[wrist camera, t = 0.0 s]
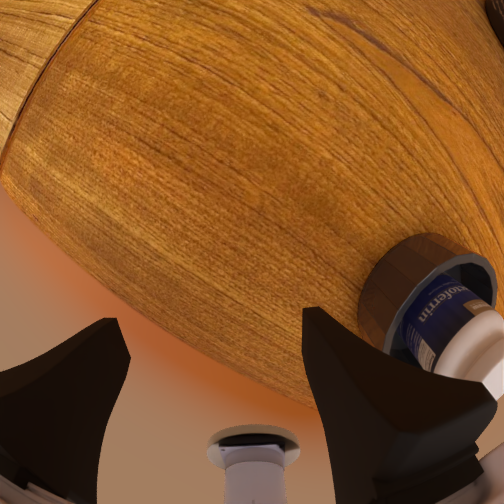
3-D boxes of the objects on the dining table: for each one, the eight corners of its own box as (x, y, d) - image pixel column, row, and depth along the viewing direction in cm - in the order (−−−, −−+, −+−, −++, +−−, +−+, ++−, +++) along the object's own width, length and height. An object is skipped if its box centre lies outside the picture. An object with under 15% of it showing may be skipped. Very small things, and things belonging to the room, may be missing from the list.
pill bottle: (442, 251, 16) (540, 317, 7) (448, 309, 18) (520, 382, 9) (379, 288, 17) (464, 387, 8) (393, 344, 19) (453, 437, 9)
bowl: (447, 337, 20) (472, 366, 15) (349, 362, 20) (368, 402, 15) (471, 229, 16) (509, 247, 12) (363, 237, 16) (397, 262, 12)
